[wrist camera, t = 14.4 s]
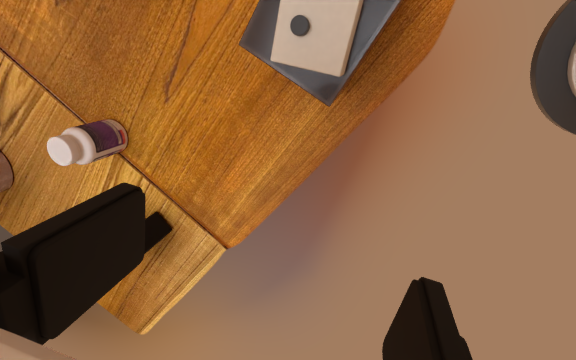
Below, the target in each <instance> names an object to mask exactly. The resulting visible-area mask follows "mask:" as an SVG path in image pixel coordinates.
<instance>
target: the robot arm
mask: <svg viewBox="0 0 576 360" xmlns="http://www.w3.org/2000/svg"><path fill="white" fill-rule="evenodd" d="M567 75H568V82H569V85H570V88H571V90H572V93H573V94H574V95H575V97H576V42H575V44H574V46H573V48H572V50H571V54H570V57H569V60H568V69H567ZM1 245H2V250H3V251H2V252H0V360H76V359H74V358H72V357H69V356H67V355H64V354H62V353H60V352H57V351H55V350H52V349H50V348H47V347H45V346H43V344H44V343H46V342H47V341H48V340H49V339H54V338H56V337H57V336H58V335H60V334H61V333H62V332H63V331H64V330H65V329H67V328H68V327H69V326H70V325H71V324H72V323H73V322H74V321H76V320H77V319H78V318H79V317H80V316H81V315H82V314H84V312H86V311H87V310H88V309H89V308H90V307H91V306H93V305H94V304H95V303H96V302H97V301H98V300H99V299H100V298H102V297H103V296H104V295H105V294H106V293H107V292H108V291H110V290H111V289H112V288H113V287H114V286H115V285H116V284H117V283H119V282H120V281H121V280H122V279H123V278H124V277H125V276H127V275H128V274H129V273H130V272H131V271H132V270H133V269H134V268H136V267H137V266H138V265H139V264H140V263H141V261H142V260H143V258H144V254H145V194H144V193H143V192H142V189H141V188H140V187H137V186H134V185H131V184H128V183H121V184H119V185H117V186H115V187H113V188H111V189H109V190H107V191H105V192H103V193H101V194H99V195H97V196H95V197H93V198H91V199H89V200H87V201H85V202H83V203H81V204H78V205H76V206H74V207H72V208H70V209H68V210H66V211H64V212H62V213H60V214H58V215H56V216H54V217H52V218H50V219H48V220H46V221H44V222H42V223H40V224H38V225H36V226H34V227H32V228H30V229H28V230H26V231H24V232H22V233H20V234H17V235H15V236H13V237H11V238H10V239H7V240H5V241H3V242H1ZM382 353H383V360H472V357H471V354H470V351H469V348H468V346H467V343H466V341H465V339H464V338H462V337H461V336H460V335H459V332H458V329H457V326H456V323H455V320H454V317H453V314H452V311H451V308H450V305H449V302H448V299H447V296H446V294H445V290H444V287H443V285H442V283H440V282H436V281H433V280H430V279H427V278H424V277H421V278H420V279H419V280H413V281H412V282H411V284H410V286H409V288H408V290H407V293H406V295H405V297H404V299H403V301H402V303H401V305H400V307H399V309H398V312H397V314H396V316H395V318H394V320H393V322H392V324H391V326H390V328H389V331H388V333H387V335H386V337H385V339H384V342H383V350H382Z"/></svg>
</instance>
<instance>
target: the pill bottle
mask: <svg viewBox="0 0 576 360" xmlns="http://www.w3.org/2000/svg"><path fill="white" fill-rule="evenodd" d="M127 143H128V137H127V133H126V131H125V129H124V128H123V127H122V125H121V124H119V123H118V122H116V121H114V120H110V119H107V120H102V121H97V122H93V123H89V124H85V125H80V126H75V127H71V128H68V129H66V130H65V131H64V132H63V133H62V134H61V135H59V136H55V137H52V138H50V139H49V140H48V142H47V150H48V153H49V155H50V157H51V158H52V159H53V160H54V161H55V162H56V163H57V164H59V165H62V166H67V165H70V164H73V163H76V164H81V165H84V164H89V163H92V162H94V161H97V160H100V159H103V158H105V157H108V156H110V155H113V154H116V153H119V152H121V151H123V150H124V149H125V148H126V146H127Z"/></svg>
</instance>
